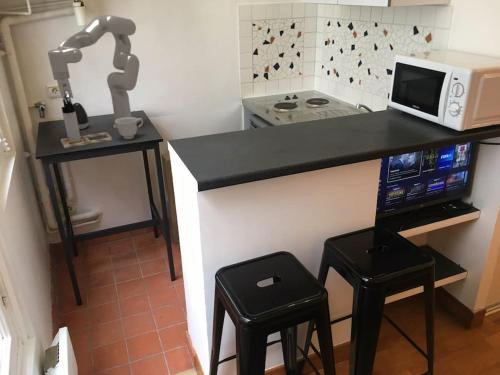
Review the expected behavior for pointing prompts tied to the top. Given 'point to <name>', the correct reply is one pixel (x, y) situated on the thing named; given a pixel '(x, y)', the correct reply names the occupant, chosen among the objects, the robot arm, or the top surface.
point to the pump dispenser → (81, 116)
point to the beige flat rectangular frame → (86, 140)
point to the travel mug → (71, 125)
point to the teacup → (128, 126)
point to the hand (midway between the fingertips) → (69, 108)
